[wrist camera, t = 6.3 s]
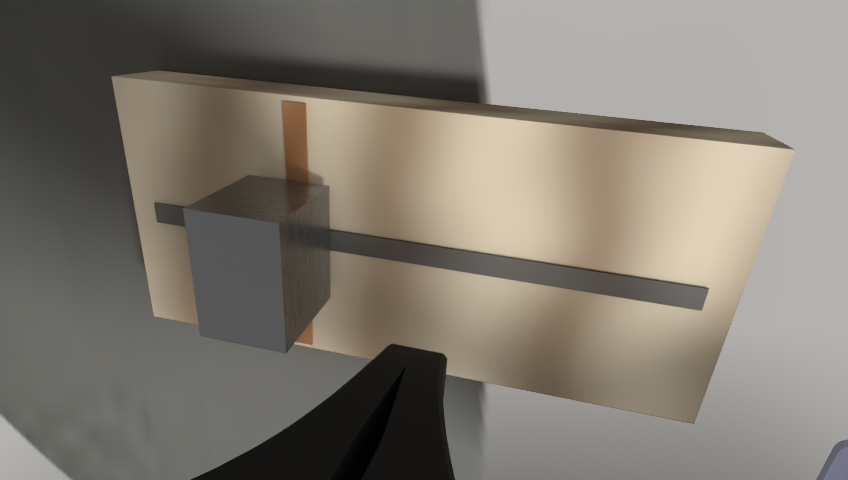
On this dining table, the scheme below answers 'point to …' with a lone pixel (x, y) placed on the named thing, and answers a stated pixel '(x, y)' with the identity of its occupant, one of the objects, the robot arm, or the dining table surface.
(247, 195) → the fader tab
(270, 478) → the robot arm
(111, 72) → the dining table surface
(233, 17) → the dining table surface
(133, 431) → the dining table surface
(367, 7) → the dining table surface
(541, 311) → the board
